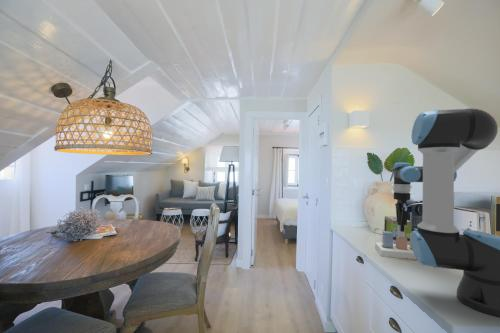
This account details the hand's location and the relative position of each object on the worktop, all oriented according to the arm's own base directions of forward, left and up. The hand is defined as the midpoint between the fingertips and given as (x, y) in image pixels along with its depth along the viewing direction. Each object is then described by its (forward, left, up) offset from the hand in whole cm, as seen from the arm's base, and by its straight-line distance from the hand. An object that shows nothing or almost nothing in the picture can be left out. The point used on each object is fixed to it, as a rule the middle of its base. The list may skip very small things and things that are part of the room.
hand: (401, 237), depth 128 cm
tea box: (+21, -4, -9) cm, 23 cm away
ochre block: (0, -6, -5) cm, 8 cm away
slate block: (0, +7, -5) cm, 8 cm away
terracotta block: (0, 0, -7) cm, 7 cm away
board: (0, 0, -9) cm, 9 cm away
